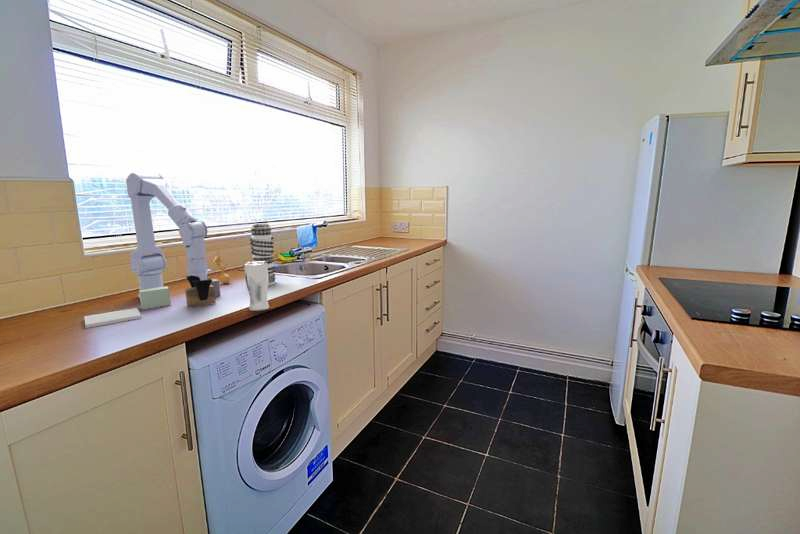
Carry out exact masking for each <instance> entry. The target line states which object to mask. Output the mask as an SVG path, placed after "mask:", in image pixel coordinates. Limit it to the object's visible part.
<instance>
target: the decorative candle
mask: <svg viewBox="0 0 800 534" xmlns="http://www.w3.org/2000/svg"><path fill="white" fill-rule="evenodd" d="M271 228H272V226H270V225H269V223H266V222H264V223H263V222H262V223H261V222H260V223H259V222H258V223H254V224H252V226H251V227H250V230H251V231H250V233H251V237H250V238H249V242H250V243H249V245H250V246H251V247H250V250H251V252H250V253H251V254H252V255H251V257H252V258H253V262H258V261H262V262H267V269H268V286H272V285H275V284H276V274H275V273H276V270H274V269H275V266H274V261H273V260H274V259H273V257H274V252H275V251H274V250H273V248H274V242H273V241H272V240H274V237H273V236H272V231H271Z"/></svg>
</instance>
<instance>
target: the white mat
mask: <svg viewBox="0 0 800 534" xmlns="http://www.w3.org/2000/svg"><path fill="white" fill-rule="evenodd" d="M139 318H140V319H142V315H141V313H140V311H139V309H138V308H137V307H134V308H133V307H132V308H126V309H120V310H114V311H108V312H103V313H97V314H96V313H95V314H92V315H91V314H90V315H85V316H84V326H85V329H89V328H94V327H100V326H106V325H112V324H115V323H121V322H122V323H123V322H128V320H129V321H134V320H139Z"/></svg>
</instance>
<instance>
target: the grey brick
mask: <svg viewBox="0 0 800 534" xmlns="http://www.w3.org/2000/svg"><path fill="white" fill-rule="evenodd" d="M211 279H212V278H211ZM219 280H220V279H218V278H213V279H212V282H211V284H210V285H212V286H214V292H215V298H217V297H221V289H220V287H221V286H220V281H219Z"/></svg>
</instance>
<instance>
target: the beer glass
mask: <svg viewBox="0 0 800 534" xmlns="http://www.w3.org/2000/svg"><path fill="white" fill-rule="evenodd" d="M244 279H245V284H246V288H247V289H246V290H247V291H248V295H249V308H248V309H249V311H251V312H263V311H266V310H268V309H269V308H270V304H269V300H268V288H269V285H268V269H267V262H262V261H258V262H254V261H248V262H246V263H244Z"/></svg>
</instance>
